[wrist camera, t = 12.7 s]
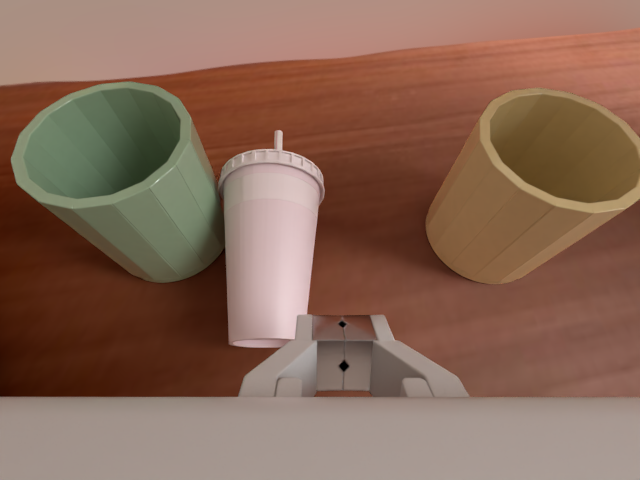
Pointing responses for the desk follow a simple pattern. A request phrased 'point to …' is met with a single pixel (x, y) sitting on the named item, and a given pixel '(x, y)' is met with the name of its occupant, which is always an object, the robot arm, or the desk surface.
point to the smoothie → (268, 242)
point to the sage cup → (126, 178)
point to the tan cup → (532, 184)
